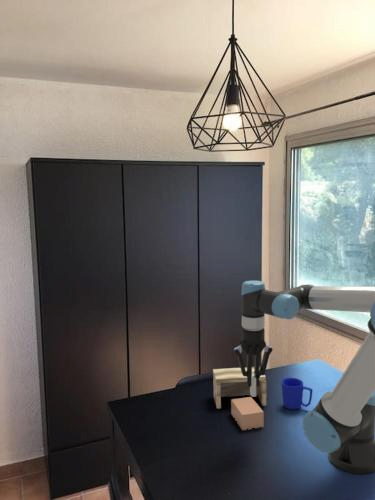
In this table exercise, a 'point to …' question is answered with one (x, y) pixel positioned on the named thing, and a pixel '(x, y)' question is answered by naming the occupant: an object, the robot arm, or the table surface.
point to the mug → (294, 393)
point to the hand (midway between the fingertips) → (253, 394)
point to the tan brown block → (247, 413)
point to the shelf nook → (235, 385)
